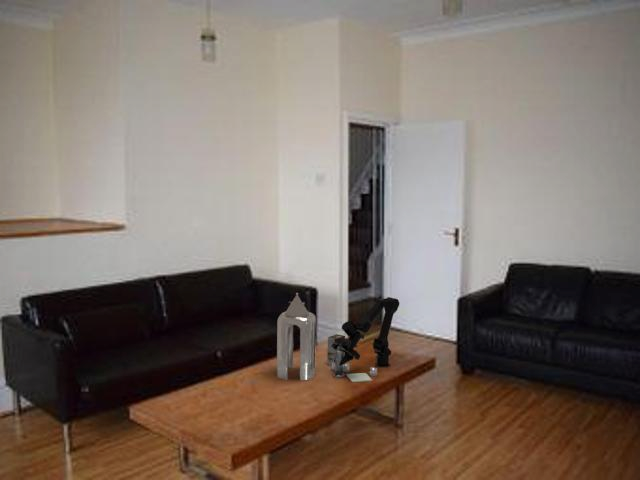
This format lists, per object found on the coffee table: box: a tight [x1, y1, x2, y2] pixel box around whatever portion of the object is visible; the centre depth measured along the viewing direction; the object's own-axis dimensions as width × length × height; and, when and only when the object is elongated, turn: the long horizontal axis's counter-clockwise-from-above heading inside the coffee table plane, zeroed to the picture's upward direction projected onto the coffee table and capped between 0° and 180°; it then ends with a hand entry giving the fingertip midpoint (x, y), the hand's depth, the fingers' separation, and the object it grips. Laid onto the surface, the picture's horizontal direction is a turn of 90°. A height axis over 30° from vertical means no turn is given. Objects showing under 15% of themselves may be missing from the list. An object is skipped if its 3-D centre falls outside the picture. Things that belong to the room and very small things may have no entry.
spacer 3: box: [369, 366, 378, 377], centre depth 316 cm, size 4×4×4 cm
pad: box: [346, 372, 373, 383], centre depth 311 cm, size 11×11×1 cm
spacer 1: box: [331, 362, 335, 372], centre depth 324 cm, size 4×4×4 cm
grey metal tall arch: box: [276, 292, 317, 381], centre depth 314 cm, size 20×20×45 cm
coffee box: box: [326, 333, 346, 366], centre depth 334 cm, size 9×6×16 cm
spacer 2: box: [343, 362, 350, 373], centre depth 321 cm, size 4×4×4 cm
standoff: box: [332, 349, 345, 379], centre depth 313 cm, size 6×6×14 cm
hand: (337, 363), depth 312 cm, fingers open, 5 cm apart
